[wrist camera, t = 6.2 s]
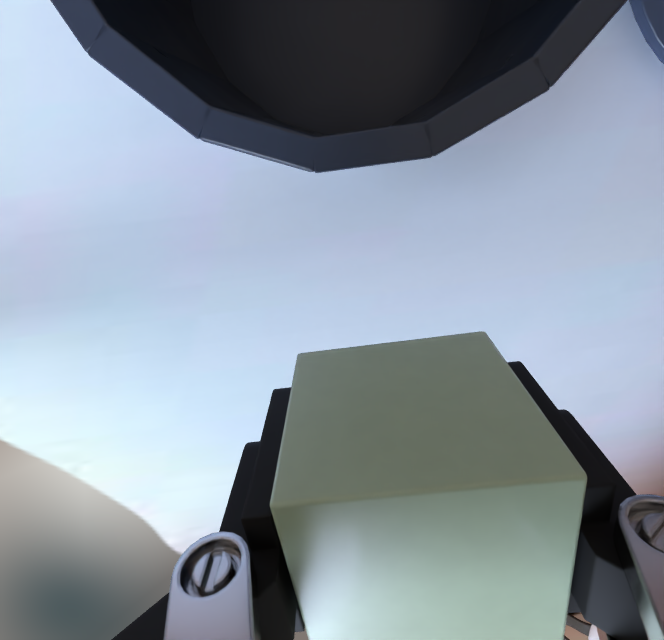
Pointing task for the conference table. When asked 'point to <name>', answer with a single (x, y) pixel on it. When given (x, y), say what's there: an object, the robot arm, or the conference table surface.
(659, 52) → the lid
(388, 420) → the block
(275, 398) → the robot arm
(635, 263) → the conference table surface
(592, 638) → the coffee press
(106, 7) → the pot
